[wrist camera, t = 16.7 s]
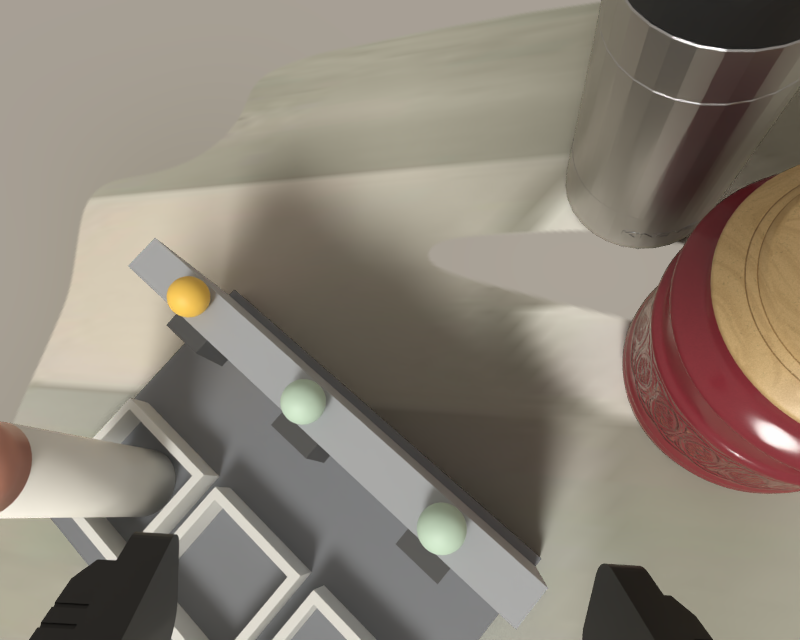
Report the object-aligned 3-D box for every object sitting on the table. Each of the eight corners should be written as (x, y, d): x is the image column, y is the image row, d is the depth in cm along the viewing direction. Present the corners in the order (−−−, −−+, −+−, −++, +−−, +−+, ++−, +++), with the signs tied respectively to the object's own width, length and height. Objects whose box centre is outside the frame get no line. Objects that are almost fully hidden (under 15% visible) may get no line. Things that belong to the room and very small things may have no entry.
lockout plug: (118, 451, 38) (-86, 418, 24) (178, 447, 37) (2, 411, 24) (111, 518, 36) (-108, 520, 23) (173, 515, 36) (-16, 516, 23)
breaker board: (51, 503, 39) (-135, 501, 27) (241, 295, 41) (142, 214, 30) (323, 835, 31) (220, 1026, 20) (539, 557, 33) (560, 583, 22)
